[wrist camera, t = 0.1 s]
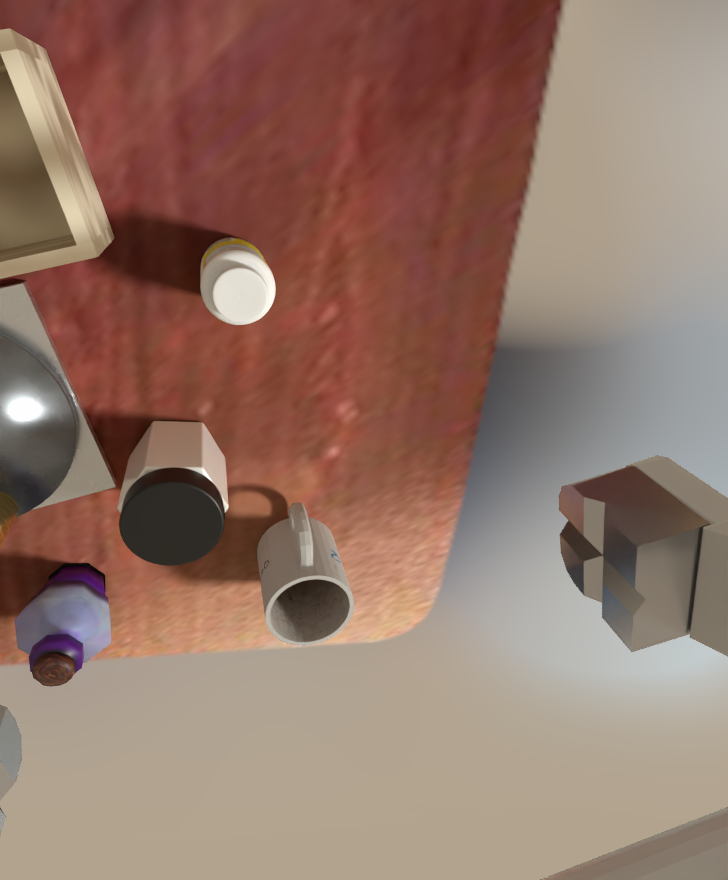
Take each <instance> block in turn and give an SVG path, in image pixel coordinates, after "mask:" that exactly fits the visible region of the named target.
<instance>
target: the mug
mask: <svg viewBox="0 0 728 880" xmlns="http://www.w3.org/2000/svg"><path fill="white" fill-rule="evenodd" d="M257 559H258V567H259V574H260V582H261V589H262V597H263V604H264V612H265V619H266V624H267V627H268V629H269V630H270V632H271V633H272V634H273V635H274V636H275V637H276V638H278V639H279V640H281V641H283V642H285V643H288V644H292V645H302V646H304V645H313V644H317V643H321V642H323V641H326V640H328V639H330V638H332V637H333V636H335V635H336V634H338V633H339V632H340V631H341V630H342V629H343V628H344V627H345V626H346V625H347V623H348V622H349V620H350V619H351V616H352V614H353V610H354V599H353V595H352V592H351V589H350V586H349V583H348V580H347V577H346V574H345V571H344V568H343V565H342V562H341V559H340V556H339V553H338V550H337V547H336V544H335V541H334V538H333V535H332V533H331V531H330V530H329V529H328V527H327V526H325V525H324V524H323V523H322V522H320V521H318V520H316V519H313V518H309V517H308V516H307V512H306V509H305V507H304V505H303V504H302V503H294V504H292V505H291V507H290V508H289V518H287V519H285V520H282V521H279V522H278V523H276V524H274V525H273V526H271V527H270V528H269V529H268V530H267V531H266V532H265V533H264V534H263V536H262V537H261V539H260V541H259V544H258V547H257Z"/></svg>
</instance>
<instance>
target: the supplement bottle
mask: <svg viewBox="0 0 728 880" xmlns="http://www.w3.org/2000/svg"><path fill="white" fill-rule="evenodd" d="M200 289H201V295H202V298H203V300H204V303H205V305H206V306H207V308H208V309H209V311H210V312H211V313H212V314H213V315H214V316H216V317H217V318H218V319H220V320H222V321H224V322H227V323H230V324H234V325H244V324H249V323H253V322H255V321H257V320H259V319H260V318H261V317H263V316H264V315H265V314H266V313H267V312H268V310H269V309H270V307H271V306H272V303H273V301H274V297H275V281H274V277H273V275H272V272H271V270H270V268H269V267H268V265H267V263H266V261H265V260H264V258H263V256H262V254H261V253H260V251H259V250H258V249H257V248H256V247H255V246H254V245H253V244H251V243H250V242H248V241H246V240H244V239H240V238H235V237H228V238H223V239H220V240H218V241H216V242H214V243H213V244H212V245H211V246H209V247H208V249H207V250H206V251H205V253H204V255H203V257H202V261H201V267H200Z"/></svg>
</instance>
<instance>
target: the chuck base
mask: <svg viewBox="0 0 728 880" xmlns="http://www.w3.org/2000/svg"><path fill="white" fill-rule="evenodd" d="M0 331H2V332H3V333H5V334H7V335H9V336H11V337H13V338H15V339H16V340H18V341H19V342H21V343H22V344H24V345H25V346H27V347H28V348H30V349H31V350H32V351H33V352H34V353H36V354H37V355H38V356H39V357H40V358H41V359H43V360H44V362H45V363H46V364H47V365H48V366H49V367H50V368H51V369H52V370H53V371H54V373H55V374H56V375H57V377H58V378H59V379H60V381H61V382H62V384H63V385H64V387H65V389H66V391H67V393H68V395H69V396H70V399H71V402H72V404H73V407H74V410H75V414H76V419H77V426H78V441H77V449H76V452H75V456H74V460H73V462H72V464H71V467H70V469H69V471H68V473H67V476H66V477H65V479H64V480H63V482H62V483H61V485H60V486H59V487H58V488H57V489H56V491H55V492H54V493H53V494H52V495H51V496H50V497H49V498H47V499H46V500H45V501H44V502H43V503H41V504H40V505H38V506H37V507H35V508H33V509H36V508H40V507H44V506H47V505H51V504H55V503H58V502H62V501H66V500H69V499H73V498H77V497H80V496H84V495H88V494H91V493H95V492H99V491H103V490H106V489H110V488H114V487H116V484H117V480H116V478H115V476H114V474H113V471H112V469H111V467H110V465H109V462H108V460H107V458H106V456H105V454H104V451H103V449H102V447H101V445H100V443H99V440H98V438H97V436H96V434H95V431H94V429H93V427H92V425H91V423H90V420H89V418H88V416H87V414H86V412H85V409H84V407H83V405H82V403H81V400H80V398H79V396H78V394H77V392H76V389H75V387H74V385H73V383H72V381H71V378H70V376H69V374H68V372H67V369H66V367H65V365H64V363H63V361H62V358H61V356H60V354H59V352H58V350H57V347H56V345H55V343H54V341H53V338H52V336H51V334H50V332H49V330H48V327H47V325H46V323H45V321H44V319H43V316H42V314H41V312H40V310H39V307H38V305H37V303H36V301H35V299H34V296H33V294H32V292H31V290H30V288H29V285H28V283H27V281H23V282H18V283H14V284H10V285H5V286H1V287H0ZM33 509H32V510H33Z"/></svg>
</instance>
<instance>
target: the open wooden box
mask: <svg viewBox="0 0 728 880" xmlns="http://www.w3.org/2000/svg"><path fill="white" fill-rule="evenodd" d="M114 238H115V237H114V234H113V232H112V229H111V226H110V223H109V221H108V218H107V215H106V212H105V210H104V207H103V204H102V202H101V199H100V196H99V193H98V191H97V188H96V185H95V182H94V180H93V177H92V174H91V172H90V169H89V166H88V163H87V161H86V158H85V155H84V152H83V150H82V147H81V144H80V142H79V139H78V136H77V133H76V131H75V128H74V125H73V122H72V120H71V117H70V114H69V112H68V109H67V106H66V103H65V101H64V98H63V95H62V92H61V90H60V87H59V84H58V82H57V79H56V76H55V73H54V71H53V68H52V65H51V63H50V60H49V57H48V54H47V52H46V49H44V48H43V47H41V46H39V45H37V44H36V43H34V42H32V41H31V40H29V39H27V38H25V37H24V36H22V35H20V34H18V33H17V32H15V31H13V30H11V29H4V30H0V279H1V278H6V277H10V276H15V275H19V274H24V273H28V272H33V271H37V270H42V269H46V268H51V267H55V266H60V265H64V264H69V263H73V262H78V261H82V260H86V259H91V258H95V257H98V256H99V255H100V254H101V253H102V252H103V251H104V250H105V248H106V247H107V246H108V245H109V244H110V243H111V242H112V241H113V239H114Z"/></svg>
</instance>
